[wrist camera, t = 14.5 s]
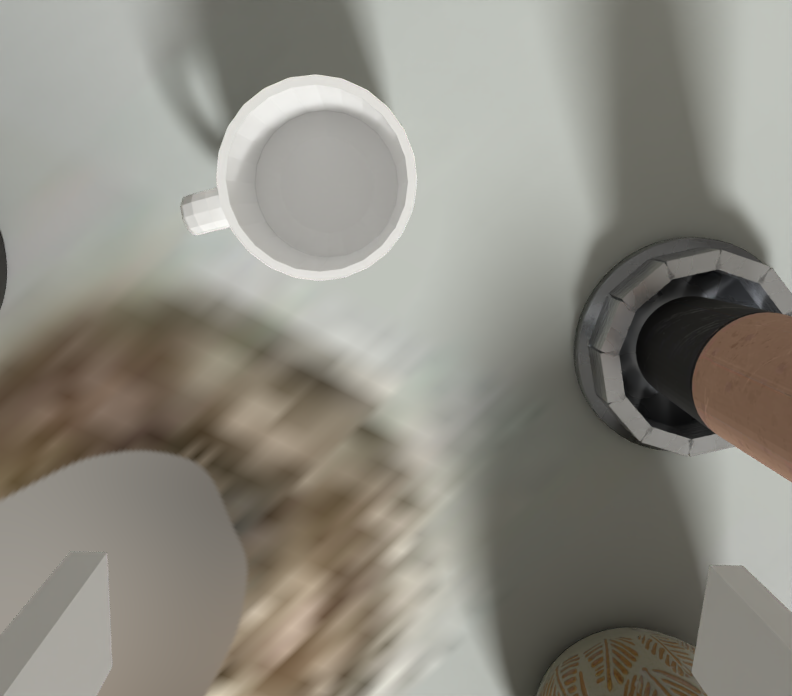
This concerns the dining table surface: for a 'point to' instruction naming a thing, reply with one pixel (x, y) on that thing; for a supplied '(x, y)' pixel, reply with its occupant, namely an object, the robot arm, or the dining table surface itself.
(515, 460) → the dining table surface
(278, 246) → the mug
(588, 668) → the vase
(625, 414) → the ring
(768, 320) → the travel mug
